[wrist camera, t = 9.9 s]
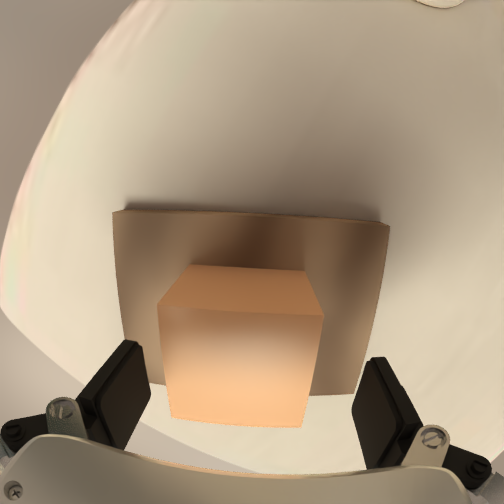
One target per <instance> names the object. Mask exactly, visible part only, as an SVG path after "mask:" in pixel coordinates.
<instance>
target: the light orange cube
mask: <svg viewBox="0 0 504 504" xmlns="http://www.w3.org/2000/svg"><path fill="white" fill-rule="evenodd" d="M157 313H158V324H159V333H160V343H161V351H162V359H163V366H164V374H165V380H166V387H167V393H168V399H169V405H170V411H171V416H172V418H177V419H184V420H191V421H198V422H206V423H214V424H224V425H236V426H251V427H301V426H302V422H303V418H304V414H305V410H306V405H307V401H308V397H309V392H310V388H311V383H312V378H313V373H314V368H315V363H316V358H317V353H318V348H319V342H320V337H321V331H322V325H323V319H324V314H323V311H322V309H321V307H320V304H319V302H318V300H317V298H316V295H315V293H314V291H313V288H312V286H311V284H310V282H309V279H308V277H307V275H306V273H305V271H296V270H277V269H258V268H241V267H224V266H208V265H192V264H189V266H188V267H187V268H186V269H185V270H184V272H183V273H182V274H181V275H180V277H179V278H178V279H177V280H176V281H175V283H174V284H173V285H172V286H171V287H170V289H169V290H168V291H167V292H166V294H165V295H164V296H163V297H162V299H161V300H160V301H159V302H158V304H157Z"/></svg>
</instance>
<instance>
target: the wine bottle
mask: <svg viewBox="0 0 504 504" xmlns="http://www.w3.org/2000/svg"><path fill="white" fill-rule="evenodd" d="M416 1H418V2H421V3H423V4H426V5H429V6H433V7H438V8H450V7H454V6H457V5H459V4H460V3H461V2H463V1H464V0H416Z"/></svg>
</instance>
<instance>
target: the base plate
mask: <svg viewBox="0 0 504 504" xmlns="http://www.w3.org/2000/svg"><path fill="white" fill-rule="evenodd" d="M112 215H113V240H114V255H115V267H116V278H117V287H118V296H119V304H120V311H121V318H122V325H123V331H124V337H125V339H127V340H132V341H137V342H138V343H139V345H141V346H142V348H143V353H144V359H145V365H146V370H147V376H148V381H149V383H154V384H160V385H166V380H165V374H164V366H163V359H162V351H161V343H160V333H159V324H158V313H157V304H158V302H159V301H160V300H161V299H162V297H163V296H164V295H165V294H166V292H167V291H168V290H169V289H170V287H171V286H172V285H173V284H174V283H175V281H176V280H177V279H178V278H179V277H180V275H181V274H182V273H183V272H184V270H185V269H186V268H187V267H188V266H189V264H192V265H208V266H224V267H241V268H258V269H277V270H296V271H305V273H306V275H307V277H308V279H309V282H310V284H311V286H312V288H313V291H314V293H315V295H316V298H317V300H318V302H319V304H320V307H321V309H322V311H323V314H324V319H323V325H322V331H321V337H320V342H319V348H318V353H317V358H316V363H315V368H314V373H313V378H312V383H311V388H310V392H309V396H319V395H342V394H354V391H355V388H356V385H357V381H358V378H359V375H360V371H361V368H362V364H363V361H364V357H365V354H366V350H367V346H368V342H369V338H370V334H371V330H372V326H373V322H374V317H375V313H376V308H377V304H378V299H379V294H380V288H381V283H382V278H383V272H384V266H385V259H386V253H387V246H388V239H389V231H390V226H389V225H386V224H384V223H381V222H373V221H362V220H350V219H338V218H325V217H311V216H296V215H280V214H261V213H241V212H216V211H184V210H120V211H116V212H113V213H112Z"/></svg>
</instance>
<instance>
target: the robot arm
mask: <svg viewBox="0 0 504 504" xmlns="http://www.w3.org/2000/svg"><path fill="white" fill-rule="evenodd" d="M150 397H151V390H150V386H149V381H148V376H147V370H146V365H145V359H144V353H143V348H142V346H141V345H139V343H138V342H137V341H132V340H127V339H125V340H123V342H122V343H121V344H120V345H119V346H118V348H117V349H116V350H115V351H114V352H113V354H112V355H111V356H110V357H109V358H108V360H107V361H106V362H105V363H104V365H103V366H102V367H101V368H100V369H99V370H98V372H97V373H96V374H95V375H94V377H93V378H92V379H91V380H90V382H89V383H88V384H87V385H86V387H85V388H84V389H83V390H82V392H81V393H80V394H79V395H78V397H77V398H76V399H75V400H74V399H71V398H68V397H59V398H56V399H54V400H52V401H51V402H50V403H49V404H48V405H47V407H46V413H45V414H40V415H36V416H30V417H26V418H20V419H14V420H10V421H8V422H7V423H5V424H4V425H3V426H2V429H1V434H0V504H504V477H503V476H502V475H500V474H499V473H497V472H496V473H495V474H493V473H492V472H491V471H492V468H491V464H490V462H489V461H488V460H487V459H486V458H484V457H483V456H480V455H477V454H474V453H472V452H469V451H466V450H463V449H461V448H458V447H456V446H453V445H451V444H450V436H449V434H448V432H447V431H446V430H445V429H444V428H442V427H440V426H437V425H426V426H423V424H422V422H421V420H420V418H419V416H418V414H417V412H416V410H415V408H414V406H413V404H412V402H411V400H410V399H409V397H408V395H407V393H406V391H405V389H404V388H403V386H401V385H400V383H399V381H398V379H397V377H396V375H395V374H394V372H393V370H392V368H391V366H390V365H389V363H388V361H387V359H386V358H385V357H372V358H371V359H370V361H367V362H366V365H365V368H364V371H363V375H362V378H361V381H360V384H359V387H358V390H357V393H356V396H355V399H354V402H353V405H352V416H353V420H354V423H355V427H356V430H357V434H358V438H359V441H360V445H361V449H362V452H363V456H364V460H365V464H366V468H367V470H361V471H352V472H340V473H328V474H305V475H277V474H253V473H240V472H229V471H220V470H213V469H206V468H199V467H193V466H187V465H182V464H177V463H171V462H167V461H162V460H158V459H154V458H150V457H146V456H142V455H138V454H135V453H131V452H127V451H124V449H125V447H126V445H127V443H128V441H129V439H130V437H131V435H132V433H133V431H134V429H135V427H136V425H137V423H138V421H139V419H140V417H141V415H142V413H143V411H144V409H145V407H146V406H147V404H148V402H149V400H150Z"/></svg>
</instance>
